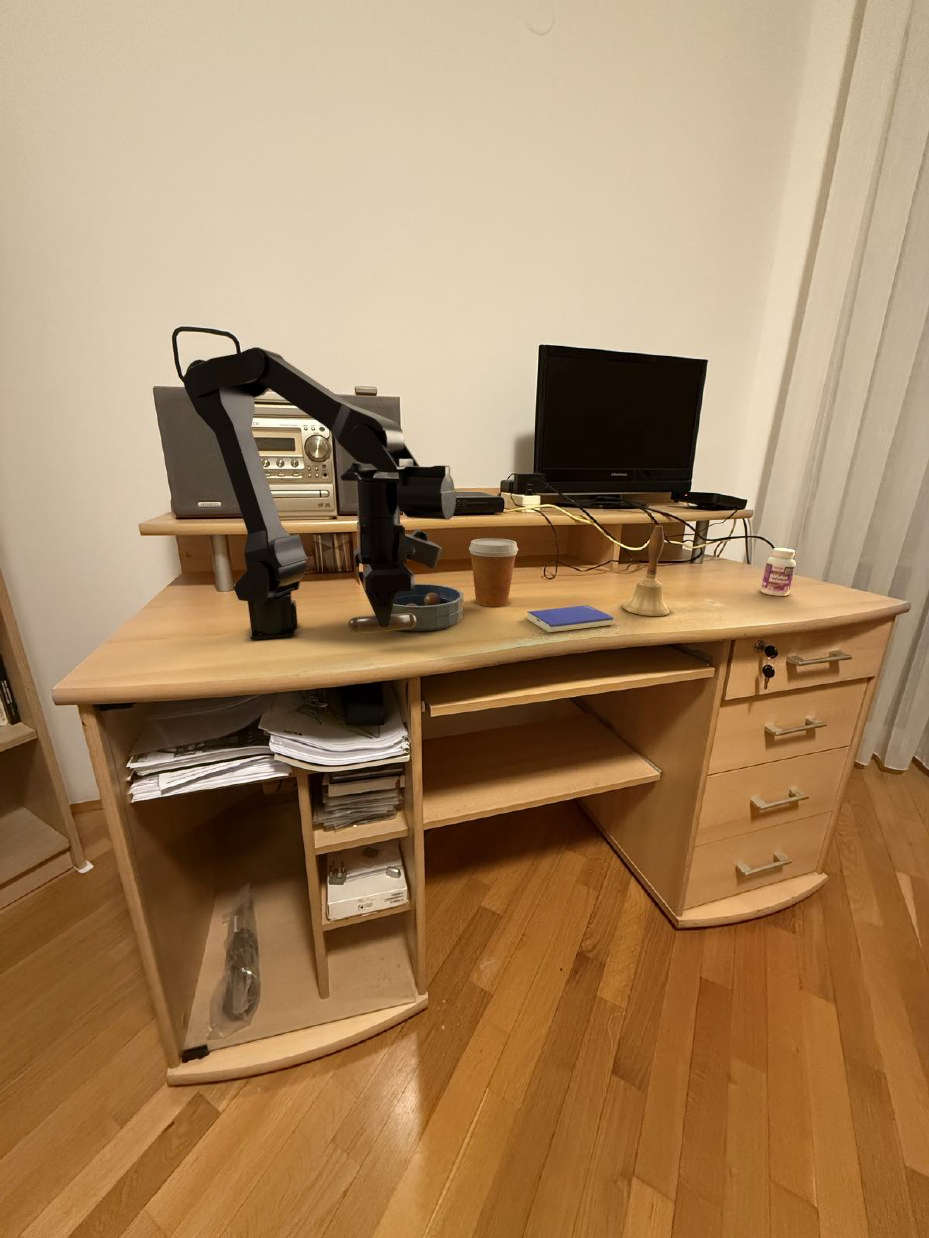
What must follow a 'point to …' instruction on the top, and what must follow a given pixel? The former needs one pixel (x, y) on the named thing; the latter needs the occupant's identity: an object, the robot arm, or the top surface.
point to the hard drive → (569, 618)
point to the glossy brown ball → (432, 599)
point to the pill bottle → (779, 572)
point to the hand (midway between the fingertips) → (383, 624)
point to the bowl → (434, 614)
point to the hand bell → (650, 582)
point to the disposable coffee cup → (492, 569)
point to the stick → (372, 625)
